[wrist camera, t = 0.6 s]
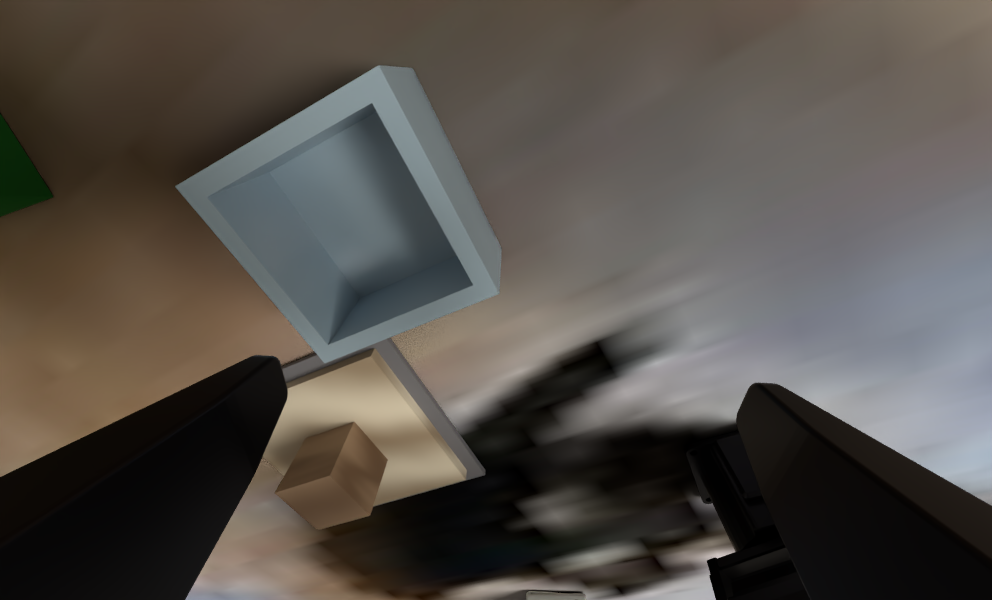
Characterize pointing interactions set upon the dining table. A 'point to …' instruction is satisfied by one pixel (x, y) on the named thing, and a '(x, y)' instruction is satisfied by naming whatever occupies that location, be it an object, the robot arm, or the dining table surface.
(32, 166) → the milk carton
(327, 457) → the lid
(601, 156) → the dining table surface
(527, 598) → the skincare box
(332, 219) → the light blue storage bin
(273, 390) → the robot arm
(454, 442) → the mat
